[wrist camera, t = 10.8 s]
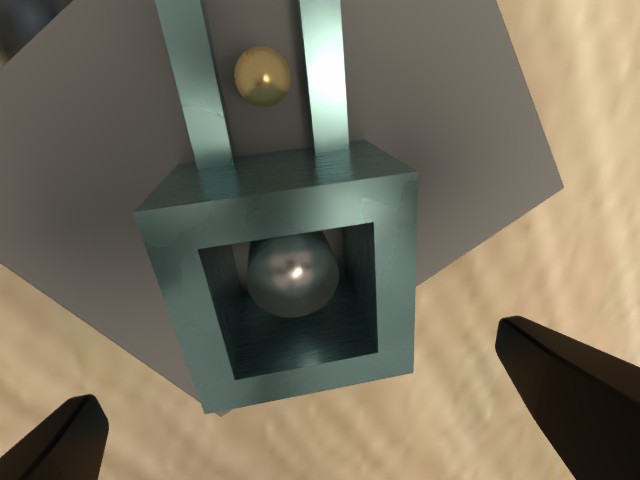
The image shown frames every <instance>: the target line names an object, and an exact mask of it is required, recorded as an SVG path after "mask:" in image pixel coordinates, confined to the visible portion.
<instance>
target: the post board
mask: <svg viewBox="0 0 640 480" xmlns="http://www.w3.org/2000/svg"><path fill="white" fill-rule="evenodd" d="M204 2H205V7H206V12H207V17H208V21H209V26H210V31H211V36H212V41H213V46H214V51H215V56H216V61H217V66H218V71H219V75H220V80H221V85H222V90H223V95H224V100H225V105H226V110H227V115H228V120H229V125H230V130H231V134H232V139H233V144H234V149H235V154H236V157H237V156H245V155H252V154H260V153H267V152H275V151H283V150H290V149H298V148H305V147H311V143H310V133H309V124H308V115H307V106H306V97H305V87H304V78H303V69H302V60H301V51H300V42H299V32H298V23H297V14H296V5H295V0H204ZM340 5H341V21H342V37H343V53H344V70H345V86H346V102H347V118H348V134H349V142H351V141H359V140H367V141H368V142H370V143H372V144H373V145H375V146H377V147H378V148H380V149H382V150H383V151H385V152H386V153H388V154H390V155H391V156H393V157H395V158H396V159H398V160H400V161H401V162H403V163H405V164H406V165H408V166H410V167H411V168H413V169H415V170H416V171H418V197H417V239H416V281H415V287H416V286H418V285H419V284H421V283H422V282H424V281H425V280H427V279H428V278H430V277H431V276H433V275H434V274H436V273H437V272H439V271H440V270H442V269H443V268H445V267H446V266H448V265H449V264H451V263H452V262H454V261H455V260H457V259H458V258H460V257H461V256H463V255H464V254H466V253H467V252H469V251H470V250H472V249H473V248H475V247H476V246H478V245H479V244H481V243H482V242H484V241H485V240H487V239H488V238H490V237H491V236H493V235H494V234H496V233H497V232H499V231H500V230H502V229H503V228H505V227H506V226H508V225H509V224H511V223H512V222H514V221H515V220H517V219H518V218H520V217H521V216H522V215H524V214H525V213H527V212H528V211H530V210H531V209H533V208H534V207H536V206H537V205H539V204H540V203H542V202H543V201H545V200H546V199H548V198H549V197H551V196H552V195H554V194H555V193H557V192H558V191H560V190H561V189H563V188H564V186H563V183H562V180H561V177H560V175H559V172H558V169H557V166H556V164H555V161H554V158H553V155H552V153H551V150H550V147H549V144H548V142H547V139H546V136H545V133H544V131H543V128H542V125H541V122H540V120H539V117H538V114H537V111H536V109H535V106H534V103H533V100H532V98H531V95H530V92H529V89H528V87H527V84H526V81H525V78H524V76H523V73H522V70H521V67H520V65H519V62H518V59H517V56H516V54H515V51H514V48H513V45H512V43H511V40H510V37H509V34H508V32H507V29H506V26H505V23H504V21H503V18H502V15H501V12H500V10H499V7H498V4H497V1H496V0H340ZM257 46H264V47H269V48H271V49H273V50H275V51H277V52H278V53H279V54H280V55H281V56H282V57H283V58H284V60H285V61H286V63H287V65H288V67H289V71H290V86H289V90H288V92H287V94H286V96H285V97H284V98H283V99H282V100H281V101H280V102H279V103H277V104H275V105H273V106H270V107H259V106H255V105H253V104H251V103H249V102H248V101H247V100H246V99H244V98H243V96H242V95H241V94H240V92H239V90H238V89H237V86H236V83H235V67H236V63H237V61H238V59H239V58H240V56H241V55H242V54H243V53H244V52H245V51H247V50H248V49H250V48H253V47H257ZM191 162H196V160H195V156H194V152H193V148H192V145H191V141H190V137H189V133H188V129H187V125H186V121H185V117H184V113H183V109H182V105H181V101H180V97H179V94H178V90H177V86H176V82H175V78H174V74H173V70H172V66H171V62H170V58H169V54H168V50H167V47H166V43H165V39H164V35H163V31H162V27H161V23H160V19H159V15H158V11H157V7H156V3H155V0H73V1H72V2H71V3H70V4H69V5H68V6H67V7H66V8H64V9H63V10H62V11H61V12H60V13H59V14H58V15H57V16H56V17H55V18H54V19H53V20H52V21H51V22H50V23H49V24H48V25H46V26H45V27H44V28H43V29H42V30H41V31H40V32H39V33H38V34H37V35H36V36H35V37H34V38H33V39H32V40H31V41H30V42H28V43H27V44H26V45H25V46H24V47H23V48H22V49H21V50H20V51H19V52H18V53H17V54H16V55H15V56H14V57H13V58H12V59H10V60H9V61H8V62H7V63H6V64H5V65H4V66H3V67H2V68H1V69H0V263H1V264H2V265H4V266H5V267H7V268H8V269H10V270H11V271H13V272H14V273H15V274H17V275H18V276H20V277H21V278H23V279H24V280H25V281H27V282H28V283H30V284H31V285H33V286H34V287H35V288H37V289H38V290H40V291H41V292H43V293H44V294H45V295H47V296H48V297H50V298H51V299H53V300H54V301H56V302H57V303H58V304H60V305H61V306H63V307H64V308H66V309H67V310H68V311H70V312H71V313H73V314H74V315H76V316H77V317H78V318H80V319H81V320H83V321H84V322H86V323H87V324H88V325H90V326H91V327H93V328H94V329H96V330H97V331H99V332H100V333H101V334H103V335H104V336H106V337H107V338H109V339H110V340H111V341H113V342H114V343H116V344H117V345H119V346H120V347H121V348H123V349H124V350H126V351H127V352H129V353H130V354H131V355H133V356H134V357H136V358H137V359H139V360H140V361H142V362H143V363H144V364H146V365H147V366H149V367H150V368H152V369H153V370H154V371H156V372H157V373H159V374H160V375H162V376H163V377H164V378H166V379H167V380H169V381H170V382H172V383H173V384H174V385H176V386H177V387H179V388H180V389H182V390H183V391H185V392H186V393H187V394H189V395H190V396H192V397H193V398H195V399H196V400H197V401H199V402H200V399H199V396H198V393H197V391H196V388H195V385H194V382H193V379H192V377H191V374H190V371H189V368H188V365H187V363H186V360H185V357H184V354H183V351H182V349H181V346H180V343H179V340H178V337H177V335H176V332H175V329H174V326H173V323H172V321H171V318H170V315H169V312H168V309H167V307H166V304H165V301H164V298H163V295H162V293H161V290H160V287H159V284H158V281H157V279H156V276H155V273H154V270H153V267H152V265H151V262H150V259H149V256H148V253H147V251H146V248H145V245H144V242H143V239H142V237H141V234H140V231H139V228H138V225H137V223H136V220H135V217H134V214H133V212H134V210H135V209H136V208H137V207H138V206H139V205H140V204H141V203H142V202H143V201H144V200H145V199H146V198H147V197H148V196H149V194H150V193H151V192H152V191H153V190H154V189H155V188H156V187H157V186H158V185H159V184H160V183H161V182H162V181H163V179H164V178H165V177H166V176H167V175H168V174H169V173H170V172H171V171H172V170H173V169H174V168H175V167H176V166H177V165H178V164H184V163H191ZM323 231H324V233H325V236H326V238H327V241H328V243H329V246H330V248H331V251H332V253H333V255H334V258H335V260H336V263H337V266H338V271H339V275H344V274H345V270H344V258H343V245H342V233H341V227H339V228H332V229H326V230H323ZM231 246H232V250H233V254H234V259H235V263H236V267H237V271H238V276H239V280H240V284H241V288H242V292H243V291H249V290H248V287H247V268H248V253H249V241H248V242H242V243H235V244H231ZM200 403H201V402H200ZM230 410H232V409H230ZM230 410H225V411H220V412H215V413H216V414H217V415H219V416H220V417H221V416H223V415H224V414H226V413H227V412H229V411H230Z"/></svg>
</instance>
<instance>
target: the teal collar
mask: <svg viewBox="0 0 640 480" xmlns="http://www.w3.org/2000/svg"><path fill="white" fill-rule="evenodd" d="M155 3H156V7H157V11H158V15H159V19H160V23H161V27H162V31H163V35H164V39H165V43H166V47H167V50H168V54H169V58H170V62H171V66H172V70H173V74H174V78H175V82H176V86H177V90H178V94H179V97H180V101H181V105H182V109H183V113H184V117H185V121H186V125H187V129H188V133H189V137H190V141H191V145H192V148H193V152H194V156H195V160H196V162H191V163H184V164H178V165H177V166H176V167H175V168H174V169H173V170H172V171H171V172H170V173H169V174H168V175H167V176H166V177H165V178H164V179H163V181H162V182H161V183H160V184H159V185H158V186H157V187H156V188H155V189H154V190H153V191H152V192H151V193H150V194H149V196H148V197H147V198H146V199H145V200H144V201H143V202H142V203H141V204H140V205H139V206H138V207H137V208H136V209H135V210H134V212H133V214H134V217H135V220H136V223H137V225H138V228H139V231H140V234H141V237H142V239H143V242H144V245H145V248H146V251H147V253H148V256H149V259H150V262H151V265H152V267H153V270H154V273H155V276H156V279H157V281H158V284H159V287H160V290H161V293H162V295H163V298H164V301H165V304H166V307H167V309H168V312H169V315H170V318H171V321H172V323H173V326H174V329H175V332H176V335H177V337H178V340H179V343H180V346H181V349H182V351H183V354H184V357H185V360H186V363H187V365H188V368H189V371H190V374H191V377H192V379H193V382H194V385H195V388H196V391H197V393H198V396H199V399H200V402H201V405H202V408H203V410H204V413H205V414H210V413H215V412H220V411H225V410H230V409H235V408H240V407H245V406H250V405H255V404H260V403H265V402H270V401H275V400H280V399H285V398H290V397H295V396H300V395H305V394H310V393H315V392H320V391H325V390H330V389H335V388H340V387H345V386H350V385H355V384H360V383H365V382H370V381H375V380H380V379H385V378H390V377H395V376H400V375H405V374H410V373H413V365H414V323H415V281H416V239H417V197H418V171H416V170H415V169H413V168H411V167H410V166H408V165H406V164H405V163H403V162H401V161H400V160H398V159H396V158H395V157H393V156H391V155H390V154H388V153H386V152H385V151H383V150H382V149H380V148H378V147H377V146H375V145H373V144H372V143H370V142H368V141H367V140H359V141H351V142H349V134H348V118H347V102H346V86H345V70H344V53H343V37H342V21H341V5H340V0H295V5H296V14H297V23H298V32H299V42H300V51H301V60H302V69H303V78H304V87H305V97H306V106H307V115H308V124H309V133H310V143H311V147H305V148H298V149H290V150H283V151H275V152H267V153H260V154H252V155H245V156H237V157H236V154H235V149H234V144H233V139H232V134H231V130H230V125H229V120H228V115H227V110H226V105H225V100H224V95H223V90H222V85H221V80H220V75H219V71H218V66H217V61H216V56H215V51H214V46H213V41H212V36H211V31H210V26H209V21H208V17H207V12H206V7H205V2H204V0H155ZM339 227H341V233H342V245H343V258H344V270H345V274H344V275H339V280H338V285H337V288H336V290H335V293H334V294H333V296H332V297H331V299H330V300H329V301H328V302H327V303H326V304H325V305H324V306H322V307H321V308H320V309H318V310H317V311H315V312H313V313H310V314H308V315H305V316H300V317H280V316H276V315H273V314H270V313H268V312H266V311H265V310H263V309H262V308H260V307H259V306H258V305H257V304H256V303H255V302H254V300H253V299H252V297H251V295H250V293H249V291H243V292H242V288H241V284H240V280H239V276H238V271H237V267H236V263H235V259H234V254H233V250H232V246H231V244H235V243H242V242H248V241H255V240H261V239H268V238H274V237H281V236H287V235H293V234H300V233H306V232H313V231H319V230H326V229H332V228H339Z"/></svg>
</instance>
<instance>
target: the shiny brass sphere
mask: <svg viewBox="0 0 640 480" xmlns="http://www.w3.org/2000/svg"><path fill="white" fill-rule="evenodd" d="M235 83H236V86H237V89H238V90H239V92H240V94H241V95H242V96H243V98H244V99H246V100H247V101H248V102H249V103H251V104H253V105H255V106H259V107H270V106H273V105H275V104H277V103H279V102H280V101H281V100H282V99H283V98H284V97H285V96H286V94H287V92H288V90H289V86H290V71H289V67H288V65H287V63H286V61H285V60H284V58H283V57H282V56H281V55H280V54H279V53H278V52H277V51H275V50H273V49H271V48H269V47H264V46H257V47H253V48H250V49H248V50H247V51H245V52H244V53H243V54H242V55H241V56H240V58H239V59H238V61H237V63H236V67H235Z"/></svg>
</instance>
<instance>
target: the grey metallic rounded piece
mask: <svg viewBox="0 0 640 480" xmlns="http://www.w3.org/2000/svg"><path fill="white" fill-rule="evenodd" d="M338 280H339V271H338V266H337V263H336V260H335V258H334V255H333V253H332V251H331V248H330V246H329V243H328V241H327V238H326V236H325V233H324V231H323V230H319V231H313V232H306V233H300V234H293V235H287V236H281V237H274V238H268V239H261V240H255V241H249V253H248V268H247V287H248V290H249V293H250V295H251V297H252V299H253V300H254V302H255V303H256V304H257V305H258V306H259V307H260V308H262V309H263V310H265V311H266V312H268V313H270V314H273V315H276V316H280V317H300V316H305V315H308V314H310V313H313V312H315V311H317V310H318V309H320V308H321V307H322V306H324V305H325V304H326V303H327V302H328V301H329V300H330V299H331V297H332V296H333V294H334V293H335V290H336V288H337V285H338Z"/></svg>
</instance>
